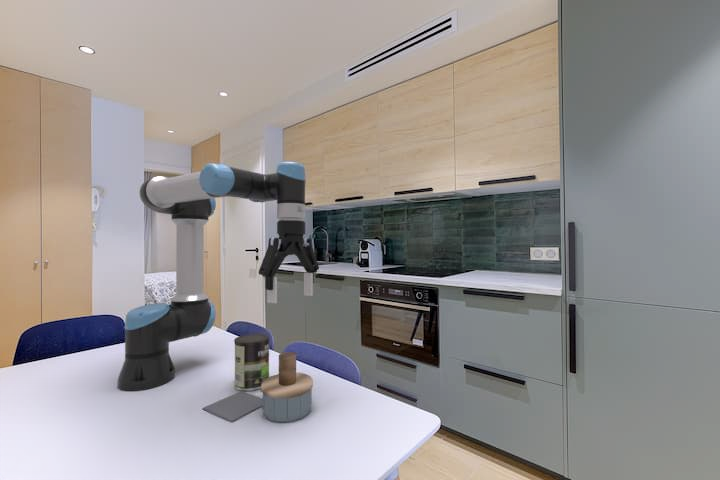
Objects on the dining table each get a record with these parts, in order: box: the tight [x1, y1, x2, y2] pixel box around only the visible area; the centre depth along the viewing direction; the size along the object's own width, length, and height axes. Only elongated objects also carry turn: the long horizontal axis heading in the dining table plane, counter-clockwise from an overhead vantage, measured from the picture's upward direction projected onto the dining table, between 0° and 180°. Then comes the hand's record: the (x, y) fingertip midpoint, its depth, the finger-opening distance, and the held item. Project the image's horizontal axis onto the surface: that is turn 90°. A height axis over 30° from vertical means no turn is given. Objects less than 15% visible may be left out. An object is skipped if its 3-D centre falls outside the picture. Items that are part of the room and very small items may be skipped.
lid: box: [260, 351, 314, 399], centre depth 86 cm, size 13×13×8 cm
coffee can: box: [233, 333, 270, 392], centre depth 102 cm, size 10×10×14 cm
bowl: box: [262, 388, 313, 424], centre depth 85 cm, size 12×12×6 cm
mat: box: [202, 390, 263, 423], centre depth 88 cm, size 12×12×1 cm
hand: (291, 299), depth 90 cm, fingers open, 13 cm apart
